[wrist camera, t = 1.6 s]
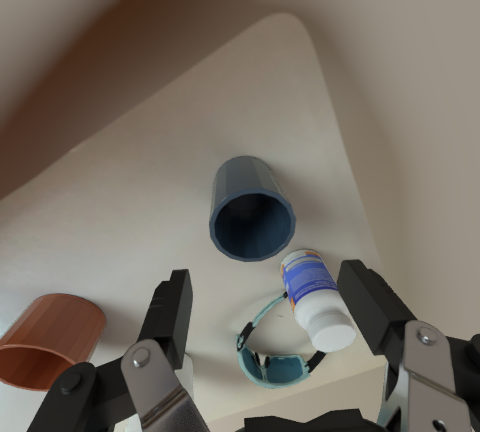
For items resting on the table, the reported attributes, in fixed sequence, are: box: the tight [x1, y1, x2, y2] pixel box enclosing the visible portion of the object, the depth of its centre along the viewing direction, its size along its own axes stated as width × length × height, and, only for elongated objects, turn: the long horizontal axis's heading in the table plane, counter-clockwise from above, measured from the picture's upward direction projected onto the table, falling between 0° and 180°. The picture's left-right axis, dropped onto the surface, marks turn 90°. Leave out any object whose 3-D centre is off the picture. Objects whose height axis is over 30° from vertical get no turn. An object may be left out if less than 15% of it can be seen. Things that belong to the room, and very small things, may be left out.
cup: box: [124, 354, 194, 432], centre depth 32 cm, size 10×10×11 cm
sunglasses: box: [236, 291, 328, 389], centre depth 33 cm, size 14×15×5 cm
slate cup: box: [209, 156, 296, 262], centre depth 19 cm, size 6×6×8 cm
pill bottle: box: [280, 249, 356, 352], centre depth 24 cm, size 5×5×10 cm
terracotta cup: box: [0, 294, 106, 392], centre depth 28 cm, size 10×10×6 cm
